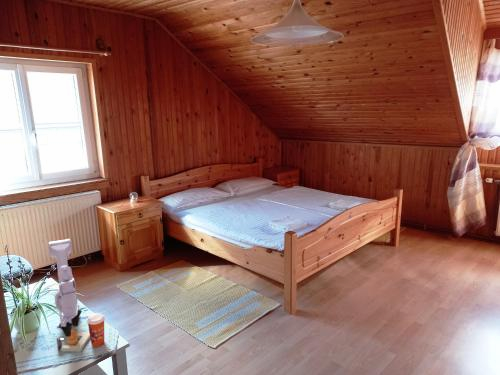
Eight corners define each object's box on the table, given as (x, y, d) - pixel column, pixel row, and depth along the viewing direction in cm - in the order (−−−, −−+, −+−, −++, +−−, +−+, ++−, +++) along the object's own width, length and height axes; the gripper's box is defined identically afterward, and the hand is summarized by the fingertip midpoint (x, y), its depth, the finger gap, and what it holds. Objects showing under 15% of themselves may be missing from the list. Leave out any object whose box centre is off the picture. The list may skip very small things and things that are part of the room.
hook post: (58, 347, 169) (57, 337, 167) (65, 347, 169) (64, 337, 167) (56, 349, 167) (55, 340, 166) (63, 349, 167) (62, 340, 166)
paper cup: (93, 351, 167) (90, 324, 163) (86, 343, 172) (83, 316, 168) (109, 343, 172) (107, 317, 169) (102, 335, 177) (100, 310, 174)
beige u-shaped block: (73, 334, 177) (72, 331, 177) (91, 335, 178) (91, 332, 177) (61, 351, 166) (60, 348, 165) (80, 351, 166) (80, 348, 166)
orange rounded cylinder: (70, 340, 173) (68, 328, 172) (79, 340, 173) (78, 328, 172) (66, 346, 169) (64, 334, 167) (75, 346, 169) (74, 334, 168)
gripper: (67, 296, 173) (70, 321, 177) (52, 314, 159) (55, 340, 163) (82, 296, 174) (84, 321, 177) (68, 314, 160) (71, 340, 163)
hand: (71, 330), depth 170 cm, fingers open, 7 cm apart
